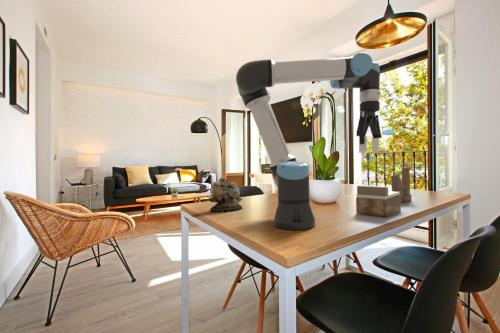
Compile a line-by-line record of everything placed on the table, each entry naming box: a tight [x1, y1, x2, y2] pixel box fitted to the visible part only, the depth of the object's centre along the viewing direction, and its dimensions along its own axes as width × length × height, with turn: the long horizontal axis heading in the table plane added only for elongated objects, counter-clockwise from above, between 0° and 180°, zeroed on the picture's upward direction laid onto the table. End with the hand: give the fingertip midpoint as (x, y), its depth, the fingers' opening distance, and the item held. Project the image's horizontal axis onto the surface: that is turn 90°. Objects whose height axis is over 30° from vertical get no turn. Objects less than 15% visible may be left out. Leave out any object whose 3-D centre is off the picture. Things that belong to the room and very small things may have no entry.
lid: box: [355, 185, 400, 200], centre depth 110 cm, size 12×17×5 cm
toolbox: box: [355, 195, 402, 218], centre depth 110 cm, size 12×17×7 cm
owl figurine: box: [208, 176, 243, 214], centre depth 129 cm, size 18×12×17 cm, turn 122°
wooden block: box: [390, 167, 412, 204], centre depth 134 cm, size 4×11×18 cm, turn 114°
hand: (369, 153), depth 106 cm, fingers open, 13 cm apart
